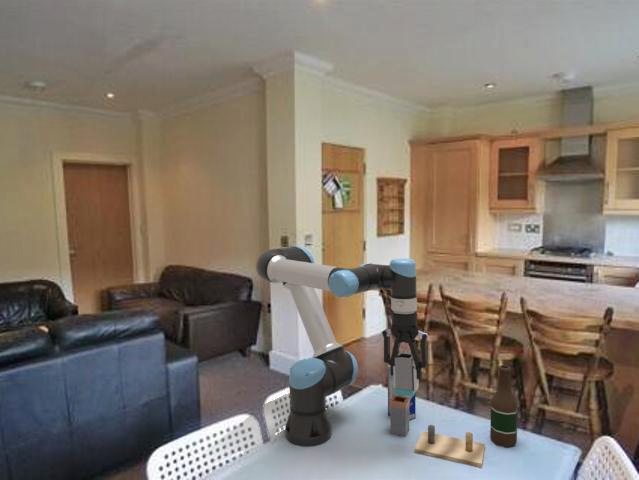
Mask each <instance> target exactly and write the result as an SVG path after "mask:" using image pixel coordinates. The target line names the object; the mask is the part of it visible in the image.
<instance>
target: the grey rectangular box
mask: <svg viewBox="0 0 639 480" xmlns="http://www.w3.org/2000/svg"><path fill="white" fill-rule="evenodd" d="M414 368H415V363H414V359H413V356H412V353H411V352H410V353H409V352H401V351H399V352H398V354H397V356H396V357H395V387H396V388H395V394H399V395H405V396H411V397H413V396H414V394H415V395H416V392H417V391H414V372H413V369H414Z"/></svg>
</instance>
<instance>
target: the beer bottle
mask: <svg viewBox="0 0 639 480" xmlns="http://www.w3.org/2000/svg"><path fill="white" fill-rule="evenodd" d="M498 371H499V372H498V380H497V381H498V382H497V390H496V391H495V393H494V394H493V396H492V398H491V402H490V428H489V429H490V441H491V442H492V443H493V444H495V446H499V447H502V448H507V449H509V448H513V447H515V446H516V444H517V440H518V413H519V412H518V402H517V398H516V396H515V394H514V393H513V390H512V381H511V380H512V377H511V372H512V368H511V367H510V366H509V365H506V364H503V365H499V366H498Z"/></svg>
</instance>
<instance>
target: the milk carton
mask: <svg viewBox="0 0 639 480" xmlns="http://www.w3.org/2000/svg"><path fill="white" fill-rule="evenodd" d="M393 395H399V394H395V388H394V376H391V374H390V364H389V365H387V415H388V416H389V417H390V405H389V401H390V400H391V398H392V397H393ZM400 396H405V395H400ZM406 397H410V403H409V421H411V420H414V419H416V393H415V394H414V396H413V397H411V396H406Z"/></svg>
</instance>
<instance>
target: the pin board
mask: <svg viewBox="0 0 639 480" xmlns="http://www.w3.org/2000/svg"><path fill="white" fill-rule="evenodd" d="M427 426H428V427H427V431H424V430H422V431H421V432H420V434H419V437H418V440H416V441H417V442H416V444H415V446H414V449H413V450H414V451H413V452H414V453H415V454H419V455H423V456H428V457H433V458H438V459H442V460H446V461H450V462H456V463H459V464H464V465H467V466H473V467H477V468H480V469H481V468H482V467H483V462H484V456H485V449H486V444H485V443H481V442H476V441H474V440H473V439H474V436H473V435H474V434H473V433H472V432H465V439H462V438H458V437H453V436H449V435H448V436H447V435H443V434H439V433H436V427H435V425H434V424H433V425H432V424H428V425H427Z"/></svg>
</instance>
